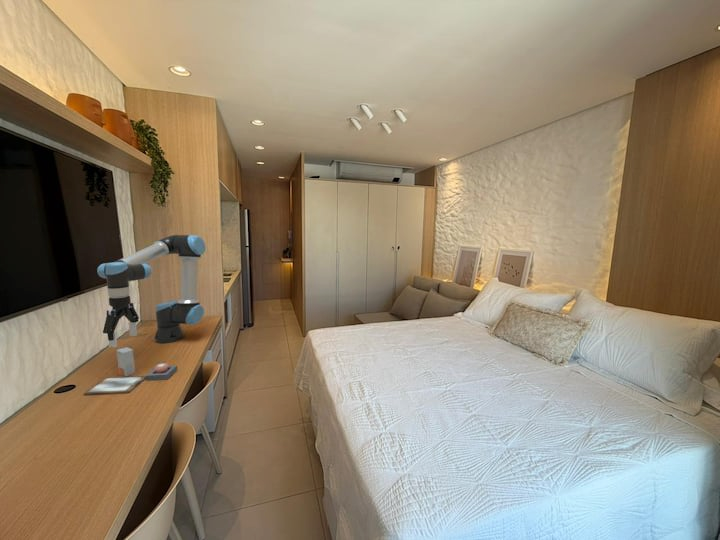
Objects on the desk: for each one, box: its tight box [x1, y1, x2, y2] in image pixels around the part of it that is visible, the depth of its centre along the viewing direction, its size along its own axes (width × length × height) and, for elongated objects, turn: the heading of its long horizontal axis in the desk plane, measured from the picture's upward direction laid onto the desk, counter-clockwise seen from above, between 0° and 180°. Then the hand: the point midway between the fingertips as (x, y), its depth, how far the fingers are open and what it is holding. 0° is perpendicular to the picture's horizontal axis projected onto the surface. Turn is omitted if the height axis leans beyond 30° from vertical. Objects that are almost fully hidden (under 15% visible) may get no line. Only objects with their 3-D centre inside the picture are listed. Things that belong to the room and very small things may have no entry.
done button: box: [154, 362, 169, 373], centre depth 134 cm, size 5×5×3 cm
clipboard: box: [83, 375, 146, 396], centre depth 125 cm, size 13×17×1 cm
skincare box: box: [116, 346, 136, 377], centre depth 134 cm, size 6×4×12 cm
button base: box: [145, 365, 178, 382], centre depth 134 cm, size 9×9×2 cm
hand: (123, 340), depth 133 cm, fingers open, 13 cm apart
